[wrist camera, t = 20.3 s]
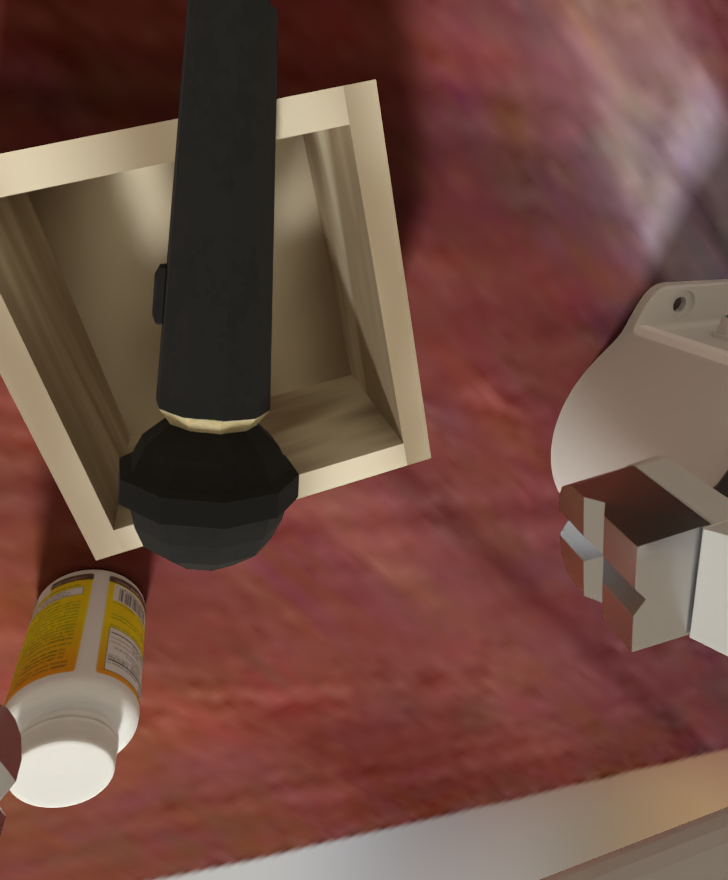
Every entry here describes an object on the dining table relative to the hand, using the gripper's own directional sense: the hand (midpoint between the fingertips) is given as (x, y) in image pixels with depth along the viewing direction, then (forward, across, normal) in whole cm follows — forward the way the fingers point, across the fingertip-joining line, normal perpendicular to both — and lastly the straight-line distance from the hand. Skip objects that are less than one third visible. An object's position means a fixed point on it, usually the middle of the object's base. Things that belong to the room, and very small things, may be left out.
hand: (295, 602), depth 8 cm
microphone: (+13, -4, -12) cm, 18 cm away
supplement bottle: (+22, +12, +15) cm, 29 cm away
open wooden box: (+22, +1, 0) cm, 22 cm away
